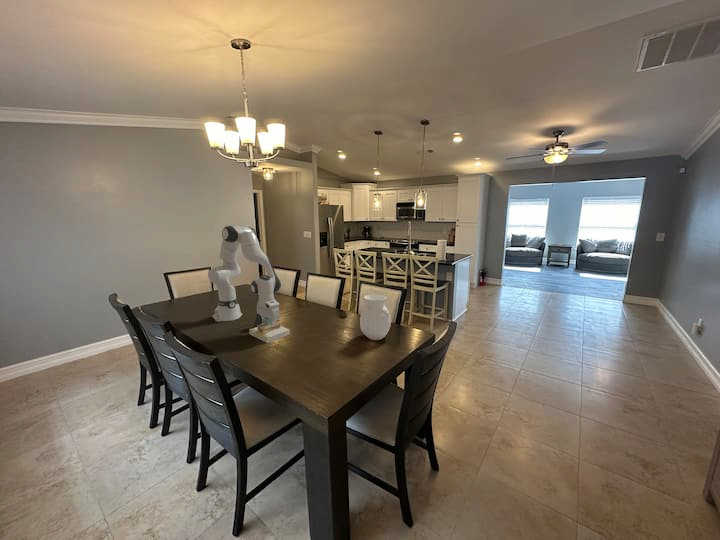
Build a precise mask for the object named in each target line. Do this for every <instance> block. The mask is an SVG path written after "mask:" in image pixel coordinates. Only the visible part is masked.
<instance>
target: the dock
mask: <svg viewBox="0 0 720 540" xmlns="http://www.w3.org/2000/svg"><path fill="white" fill-rule="evenodd" d="M248 331H249V332H248V333H249V335H250V336H252V337H254V338H256V339H258V340H261V341H262V342H265V343H267V344H269V343H271V342H273V341H277V340H279V339H282V338H284V337H286V336H287V337H288V336H290V335H291V330H290V329H289V328H286V327H284V326H281V325H280V328H279V329H276V330H273V331H270V332H267V333H265V334H263V333H262V331H261V332H259V331H258V327H256V328H255V327H254V328H249V329H248Z"/></svg>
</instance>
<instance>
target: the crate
mask: <svg viewBox="0 0 720 540" xmlns="http://www.w3.org/2000/svg"><path fill="white" fill-rule="evenodd" d="M271 322H272V321H271V319H269V318H267V317H264V322H263V323H264V324H266V325H270V324H271Z"/></svg>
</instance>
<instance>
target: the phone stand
mask: <svg viewBox="0 0 720 540" xmlns="http://www.w3.org/2000/svg"><path fill="white" fill-rule="evenodd" d="M260 324H263V322H262V318H261V315H260V314H258V313H257V312H256V318H255V322H254V325H253V326H254V328H256V327H258V326H257V325H260Z"/></svg>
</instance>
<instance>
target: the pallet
mask: <svg viewBox="0 0 720 540" xmlns="http://www.w3.org/2000/svg"><path fill="white" fill-rule="evenodd" d="M257 326H258V331H259V332H261V331H262V333H263V334H265V333H267V332H270V331H273V330H276V329H279V328H280V326H281V322H280V321H278V320H275V325H274V326H272V325H271V324H270V325H266V324H264V322H262V324H260V325H257Z"/></svg>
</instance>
